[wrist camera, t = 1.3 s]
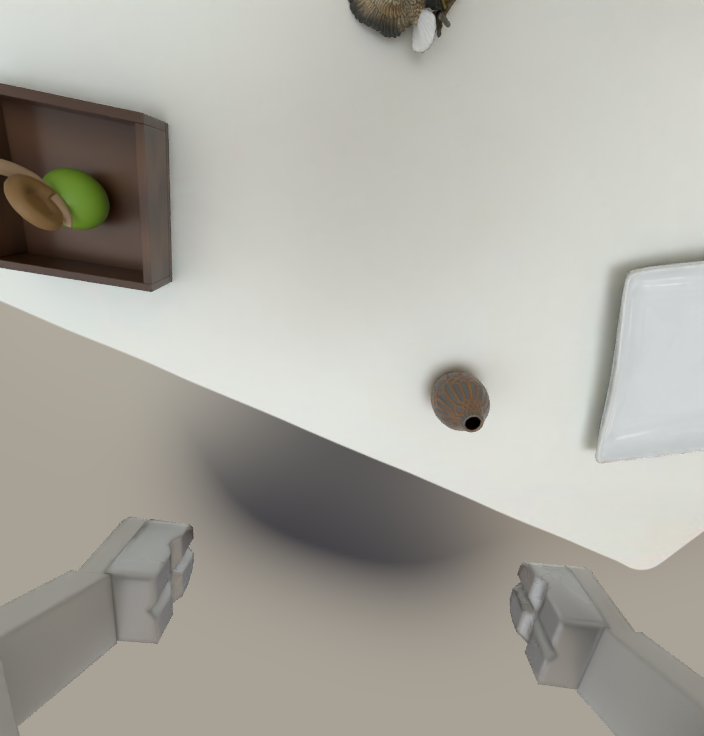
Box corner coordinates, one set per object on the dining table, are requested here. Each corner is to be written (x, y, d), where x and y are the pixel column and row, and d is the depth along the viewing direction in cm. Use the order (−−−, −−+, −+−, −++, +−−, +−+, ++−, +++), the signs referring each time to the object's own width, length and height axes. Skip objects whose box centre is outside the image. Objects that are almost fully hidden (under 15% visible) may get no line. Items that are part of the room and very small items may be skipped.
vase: (423, 409, 51) (439, 448, 43) (428, 364, 48) (447, 397, 40) (472, 409, 51) (497, 448, 43) (480, 364, 48) (509, 397, 40)
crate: (-6, 87, 34) (-59, 70, 30) (168, 123, 36) (143, 113, 31) (26, 257, 41) (-14, 265, 36) (172, 281, 42) (151, 292, 38)
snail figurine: (85, 148, 36) (-23, 128, 25) (131, 211, 39) (51, 217, 28) (44, 177, 37) (-77, 170, 26) (92, 237, 40) (-1, 252, 29)
